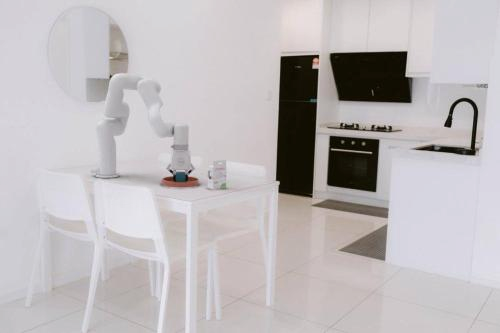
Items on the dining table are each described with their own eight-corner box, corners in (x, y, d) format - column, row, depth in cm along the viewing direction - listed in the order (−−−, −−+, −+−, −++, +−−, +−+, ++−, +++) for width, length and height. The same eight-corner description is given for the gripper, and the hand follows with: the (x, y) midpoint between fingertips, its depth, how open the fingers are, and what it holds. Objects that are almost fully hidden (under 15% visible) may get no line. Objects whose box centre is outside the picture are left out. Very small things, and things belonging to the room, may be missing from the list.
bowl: (161, 188, 235) (161, 182, 234) (162, 181, 254) (162, 175, 253) (199, 188, 238) (200, 182, 238) (197, 181, 257) (198, 176, 256)
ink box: (220, 186, 244) (221, 158, 241) (226, 188, 240) (227, 159, 238) (206, 188, 238) (207, 159, 236) (212, 190, 234) (213, 160, 232)
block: (175, 184, 243) (175, 173, 242) (175, 182, 248) (175, 171, 247) (185, 184, 244) (185, 173, 243) (185, 182, 249) (185, 171, 248)
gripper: (164, 148, 238) (163, 183, 241) (197, 148, 241) (197, 183, 243) (164, 146, 245) (164, 181, 248) (197, 147, 248) (196, 181, 251)
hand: (180, 182), depth 246 cm, fingers closed on block, 5 cm apart
